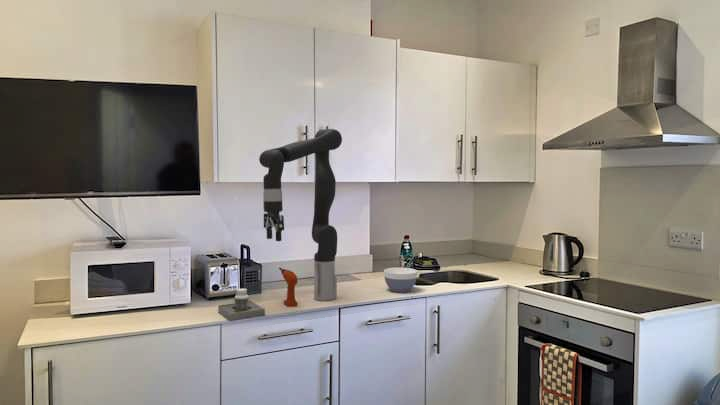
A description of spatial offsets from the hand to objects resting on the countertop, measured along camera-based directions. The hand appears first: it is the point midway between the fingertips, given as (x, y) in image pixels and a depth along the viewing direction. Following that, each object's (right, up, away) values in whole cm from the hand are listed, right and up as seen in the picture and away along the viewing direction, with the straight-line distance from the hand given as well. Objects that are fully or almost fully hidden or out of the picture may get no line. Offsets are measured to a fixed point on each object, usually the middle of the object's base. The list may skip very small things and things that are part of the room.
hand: (274, 239), depth 205 cm
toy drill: (+3, -28, +14) cm, 32 cm away
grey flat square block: (-12, -29, -4) cm, 32 cm away
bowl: (+54, -27, +39) cm, 72 cm away
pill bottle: (-12, -29, -4) cm, 32 cm away
